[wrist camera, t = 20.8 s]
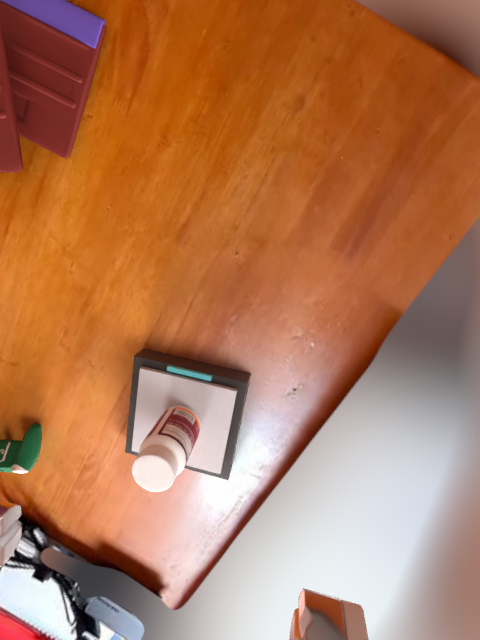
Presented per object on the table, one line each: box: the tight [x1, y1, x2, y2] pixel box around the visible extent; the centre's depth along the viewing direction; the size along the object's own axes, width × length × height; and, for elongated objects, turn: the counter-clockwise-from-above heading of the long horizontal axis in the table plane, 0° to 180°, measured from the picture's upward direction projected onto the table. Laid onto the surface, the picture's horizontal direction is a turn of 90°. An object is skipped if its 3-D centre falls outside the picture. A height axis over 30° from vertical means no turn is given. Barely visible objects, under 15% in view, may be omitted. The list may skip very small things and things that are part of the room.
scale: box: [125, 349, 251, 480], centre depth 40 cm, size 13×13×3 cm
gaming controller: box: [0, 424, 42, 474], centre depth 46 cm, size 9×4×6 cm
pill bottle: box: [132, 405, 201, 492], centre depth 35 cm, size 5×5×8 cm
